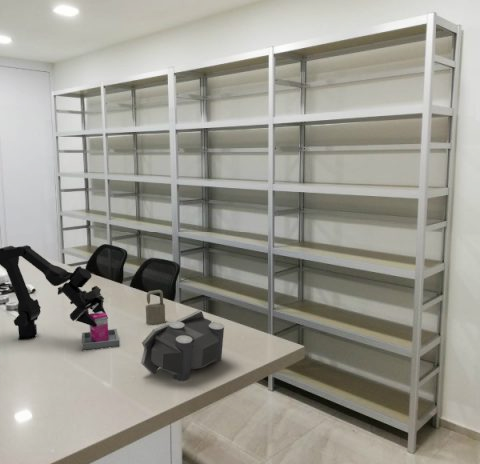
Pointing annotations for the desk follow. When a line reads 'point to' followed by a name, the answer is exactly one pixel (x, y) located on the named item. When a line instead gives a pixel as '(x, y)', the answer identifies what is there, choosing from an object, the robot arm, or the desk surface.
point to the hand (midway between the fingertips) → (101, 322)
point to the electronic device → (183, 345)
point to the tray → (112, 342)
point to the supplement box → (99, 327)
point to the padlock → (155, 309)
